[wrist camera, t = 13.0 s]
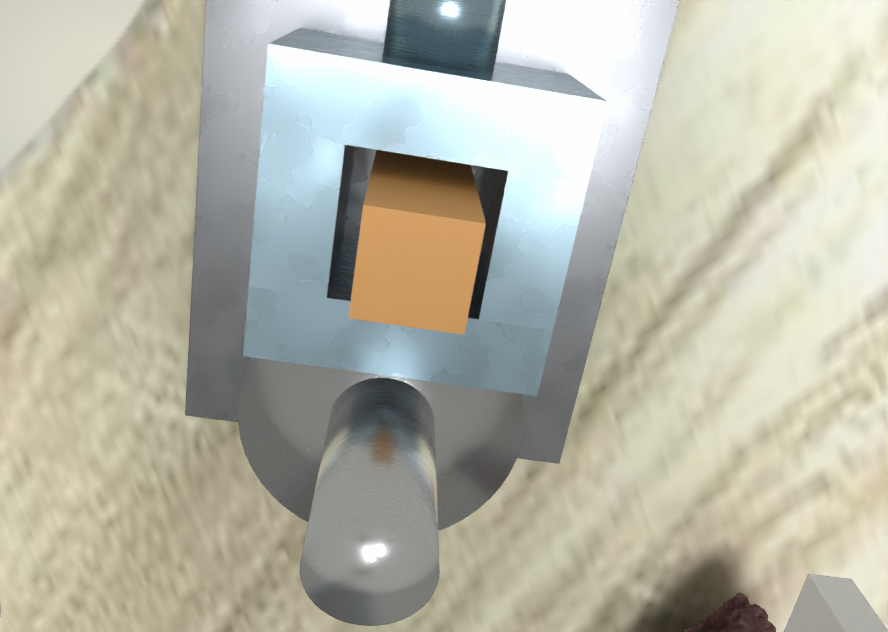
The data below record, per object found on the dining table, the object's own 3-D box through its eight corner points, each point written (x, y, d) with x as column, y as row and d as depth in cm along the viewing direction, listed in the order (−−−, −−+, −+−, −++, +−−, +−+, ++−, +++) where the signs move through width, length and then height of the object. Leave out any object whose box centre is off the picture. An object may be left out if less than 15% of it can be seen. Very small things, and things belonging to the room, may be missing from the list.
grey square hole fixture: (545, 485, 47) (605, 734, 32) (190, 440, 45) (73, 681, 30) (671, -6, 37) (848, 12, 22) (219, -90, 35) (65, -133, 20)
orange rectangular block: (466, 148, 38) (485, 223, 27) (451, 231, 39) (464, 334, 28) (380, 134, 37) (363, 204, 26) (368, 218, 39) (348, 318, 28)
